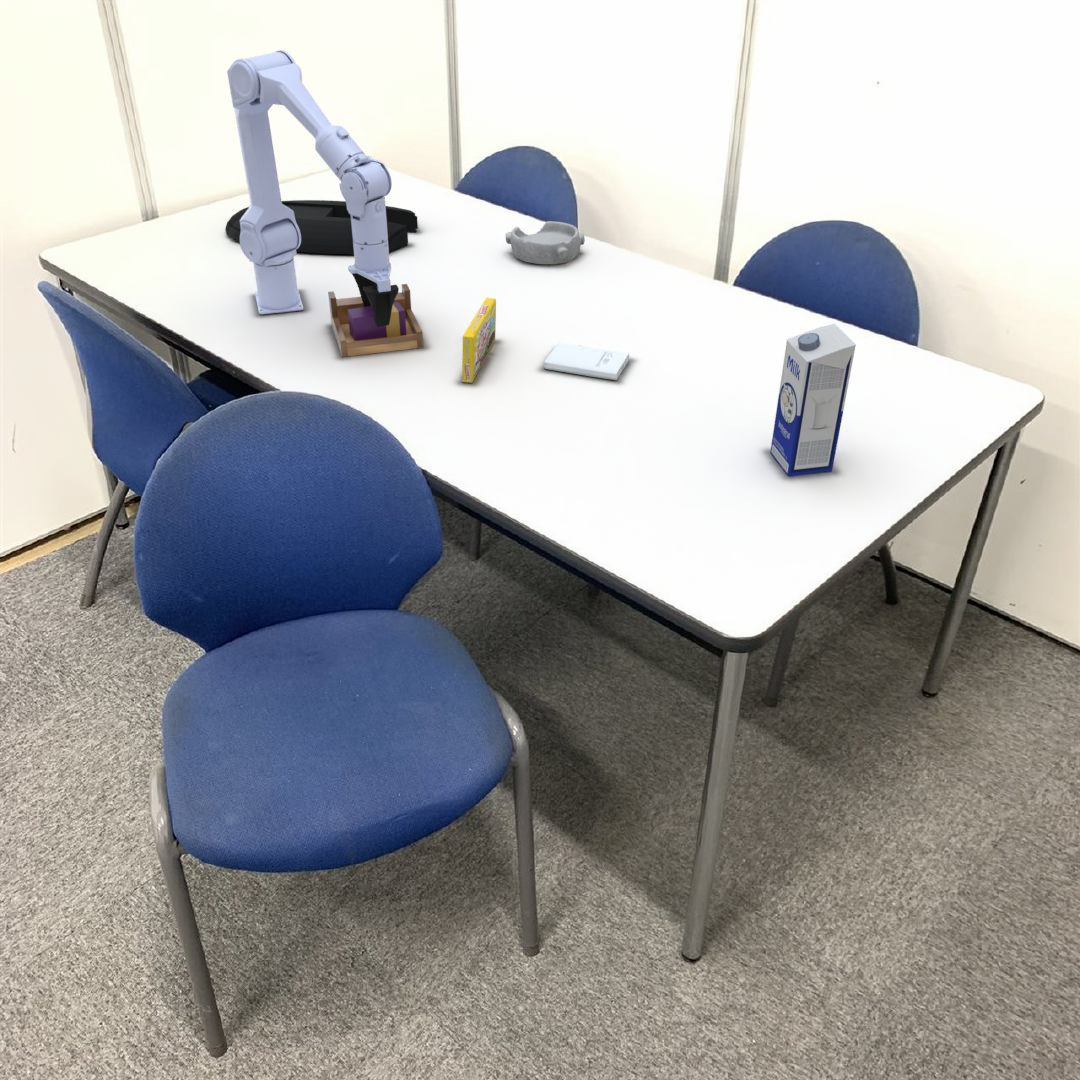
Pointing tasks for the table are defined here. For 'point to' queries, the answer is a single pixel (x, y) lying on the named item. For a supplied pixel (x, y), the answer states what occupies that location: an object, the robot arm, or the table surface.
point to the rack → (379, 344)
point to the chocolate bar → (366, 327)
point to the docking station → (334, 226)
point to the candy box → (478, 340)
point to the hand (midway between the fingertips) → (376, 316)
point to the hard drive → (586, 361)
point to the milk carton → (812, 400)
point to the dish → (547, 243)
